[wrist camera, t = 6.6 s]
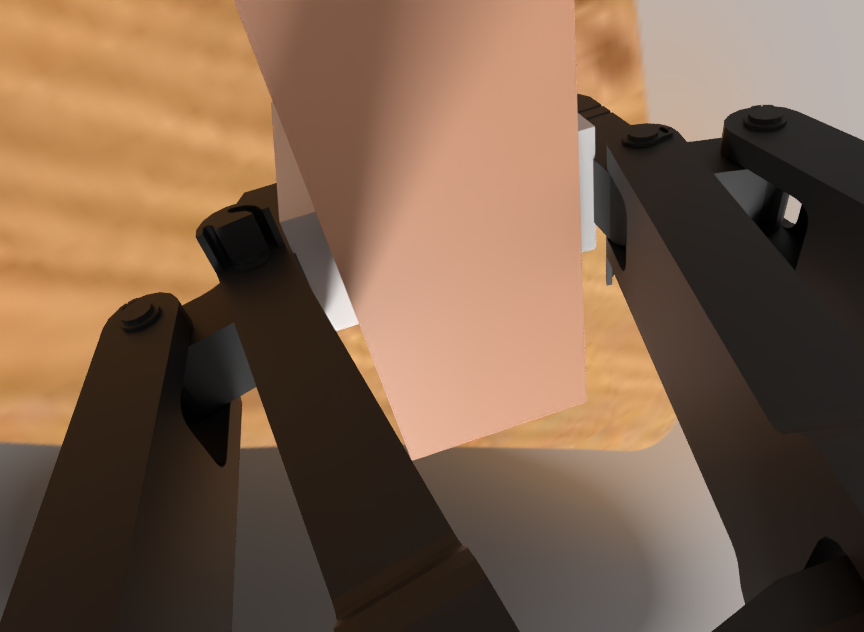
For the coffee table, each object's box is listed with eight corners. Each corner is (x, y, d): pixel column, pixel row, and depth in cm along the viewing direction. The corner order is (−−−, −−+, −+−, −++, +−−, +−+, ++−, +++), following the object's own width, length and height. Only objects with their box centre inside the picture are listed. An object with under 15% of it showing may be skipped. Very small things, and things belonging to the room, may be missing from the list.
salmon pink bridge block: (240, -69, 13) (230, -9, 7) (424, -120, 13) (570, -105, 7) (362, 274, 19) (412, 460, 13) (483, 235, 20) (586, 402, 14)
